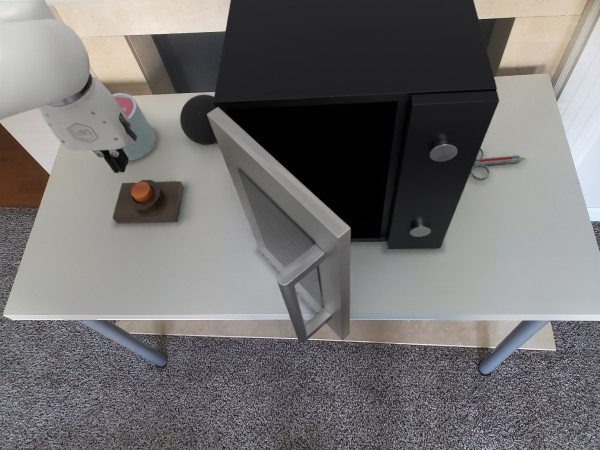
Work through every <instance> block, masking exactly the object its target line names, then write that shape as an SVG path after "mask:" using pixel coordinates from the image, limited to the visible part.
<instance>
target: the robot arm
mask: <svg viewBox="0 0 600 450" xmlns="http://www.w3.org/2000/svg"><path fill="white" fill-rule="evenodd" d="M112 94H113V93H112V92H111V91H110V90H109V88H107V87H106V86H105V85H104V83H102V81H100V80H99V79H98V78H97V77H94V76H93V75H92V73H91V63H90V58H89V54H88V50H87V48H86V46H85V44H84V42H83V40H82V39H81V38H80V36H79V34H77V33H76V31H75V30H74V29H73V28H72V27H70V26H69V25H67V24H65V22H63V21H61V20H57V18H56V16H55V15H54V13H53V12H52V10H51V8H50V6H49V5H48V3H47V2H46V0H0V121H1V120H4V119H7V118H10V117H13V116H16V115H19V114H22V113H26V112H28V111H32V110H36V109H38V112H40V115H41V117H42V118H43V120H44V122H45V123H46V125H47V126H48V128H49V129H50V131H51V132H52V133H53V135H54V136H55V138H56V139H57V140H58V141H59V143H60V144H61V145H62V146H63V147H64V148H65V149H67V150H69V151H73V152H90V151H91V152H93V154H94V155H96V157H98V158H101V159H103V160H104V161H105V163H106V164H107V165H108V166H109V168H110V169H111V170H112V172H113V173H114V174H119V173H121V174H122V173H126V169H127V166H128V165H129V158H128V156H127V155H126V153H125V152H124V150H123V148H124V147H125V146H128V145H132V144H135V143H136V140H137V135H136V134H135V133H134V132H133V131H132V130H131V129H130V128H131V127H132V125H131V122H130V120H129V118H128V117H127V115H126V113H125V112H124V110H123V109H122V107H121V106H120V105H119V103H118V102H117V100H116V99H115V98H114V96H113V95H112Z"/></svg>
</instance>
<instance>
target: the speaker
mask: <svg viewBox="0 0 600 450" xmlns="http://www.w3.org/2000/svg"><path fill="white" fill-rule="evenodd" d="M213 101H214V95H211V94H199V95H195V96H192V97H191V98H189V99H188V100H187V101H186V102H185V103H184V105H183V106H182V108H181V111H180V115H179V123H180V127H181V129H182V131H183V133H184V135H185V136H186V137H187V138H188V139H189V140H190V141H192V142H193V143H195V144H198V145H201V146H213V145H216V144H218V142H217V139H216V137H215V134H214V132H213V129H212V126H211V124H210V121H209V119H208V116H207V114H208V113H209V112H211V111H212V110H214V109H215V106H214V103H213Z"/></svg>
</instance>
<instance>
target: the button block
mask: <svg viewBox="0 0 600 450" xmlns="http://www.w3.org/2000/svg"><path fill="white" fill-rule="evenodd" d="M139 182H146V183H148V184H149V186H150V187H151V188H152V190H153V196H152V198H151V199H150V200H149V201H147V202H145V203H139V202H137V201H136V200H135V199H134V197H133V196H132V194H131V189H132V187H133V186H134V185H135V184H137V183H139ZM184 190H185V186H184V185H183V183H182V181H181V180H178V181H177V180H175V181H174V180H173V181H170V180H169V181H155V180H152V179H142V180H140V181H137V182H121V185H120V188H119V192H118V195H117V196H118V197H117V200H116V203H115V207H114V211H113V214H112V219H113V220H114V221H115V222H116V223H117V224H151V223H154V224H155V223H156V224H157V223H178V221H179V217H180V211H181V206H182V202H183V196H184Z"/></svg>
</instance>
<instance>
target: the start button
mask: <svg viewBox="0 0 600 450" xmlns="http://www.w3.org/2000/svg"><path fill="white" fill-rule="evenodd" d="M138 182H139V183H137V182H136V183H137V184H135V185H134V186H133V187H132V189H131V194H132V196H133V197H134V199H135V200H136V201H137V202H139V203H145V202H147V201H149V200H150V199H151V198H152V196H153V190H152V188H151V187H150V186H149V184H148V183H146V182H140V181H138Z"/></svg>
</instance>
